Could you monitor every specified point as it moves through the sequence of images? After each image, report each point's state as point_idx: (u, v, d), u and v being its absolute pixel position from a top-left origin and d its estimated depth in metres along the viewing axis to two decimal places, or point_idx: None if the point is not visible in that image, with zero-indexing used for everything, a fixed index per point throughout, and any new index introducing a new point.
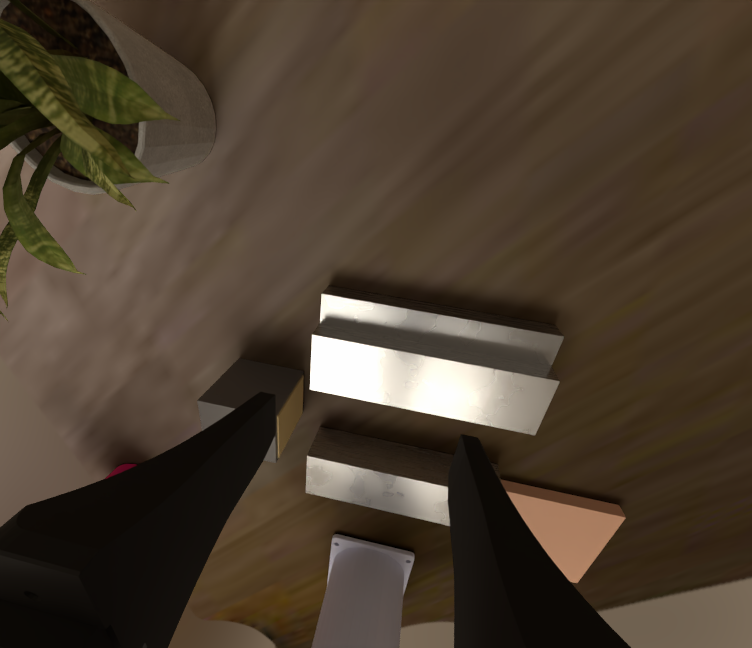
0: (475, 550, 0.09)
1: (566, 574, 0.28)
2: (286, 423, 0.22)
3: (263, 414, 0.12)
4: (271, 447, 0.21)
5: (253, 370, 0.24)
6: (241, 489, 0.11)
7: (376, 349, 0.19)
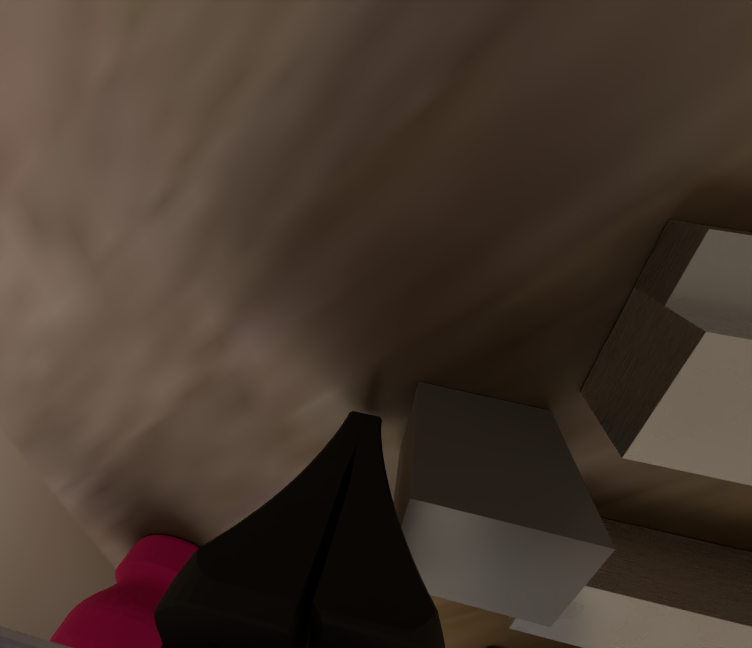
0: None
1: None
2: None
3: None
4: (559, 601, 0.09)
5: (462, 410, 0.12)
6: None
7: None
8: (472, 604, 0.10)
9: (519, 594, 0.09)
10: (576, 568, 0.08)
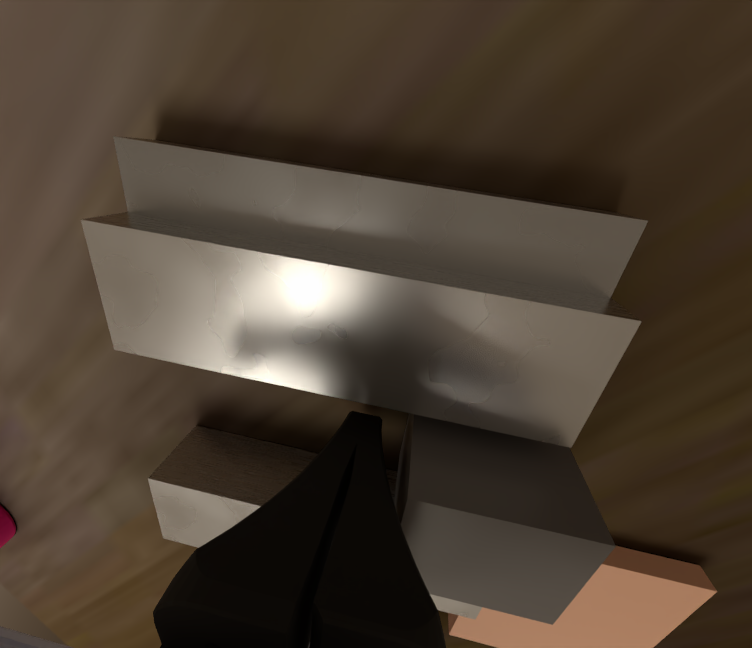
0: None
1: None
2: None
3: None
4: (560, 599, 0.09)
5: None
6: None
7: (218, 253, 0.08)
8: (473, 604, 0.10)
9: (520, 592, 0.09)
10: (577, 566, 0.08)
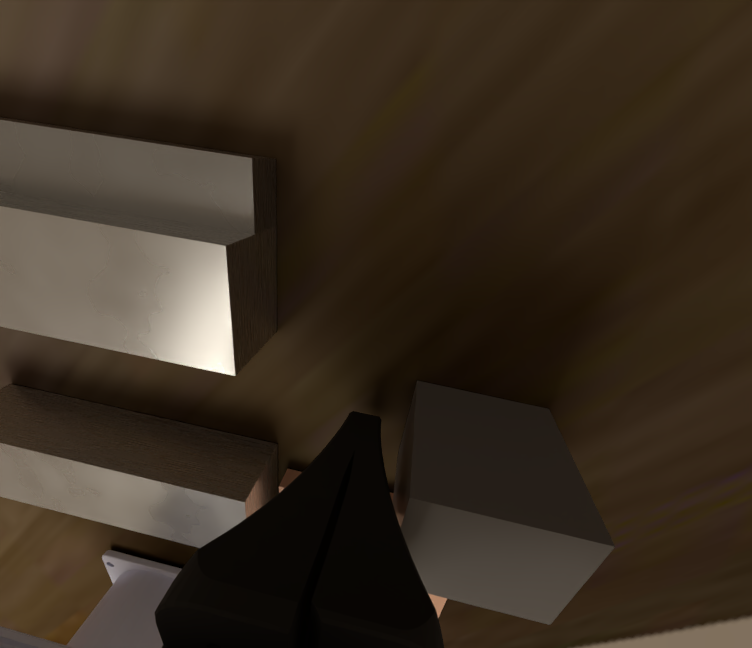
0: None
1: None
2: None
3: None
4: (558, 599, 0.09)
5: (461, 408, 0.12)
6: None
7: None
8: (472, 603, 0.10)
9: (519, 592, 0.09)
10: (576, 566, 0.08)
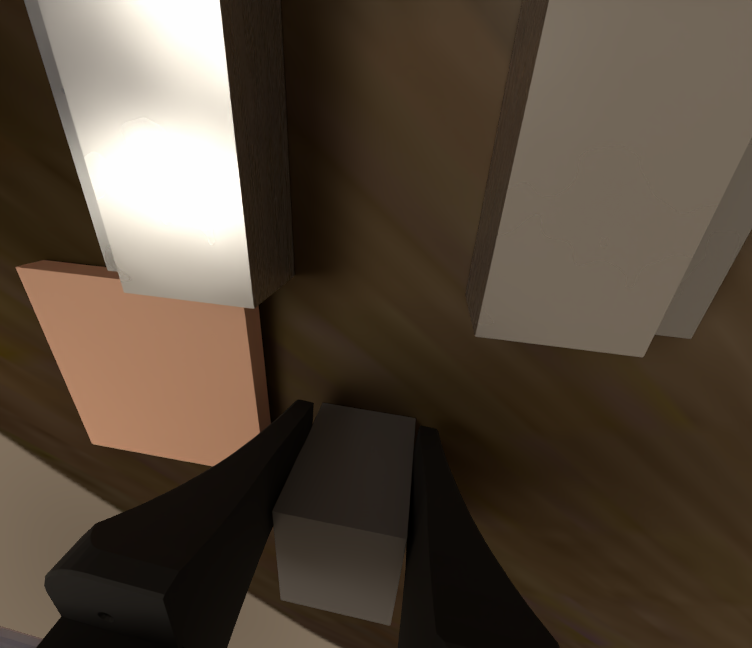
0: (418, 536, 0.09)
1: (100, 428, 0.16)
2: None
3: (304, 423, 0.12)
4: (316, 604, 0.12)
5: None
6: None
7: None
8: (279, 563, 0.11)
9: (312, 587, 0.11)
10: (360, 611, 0.12)
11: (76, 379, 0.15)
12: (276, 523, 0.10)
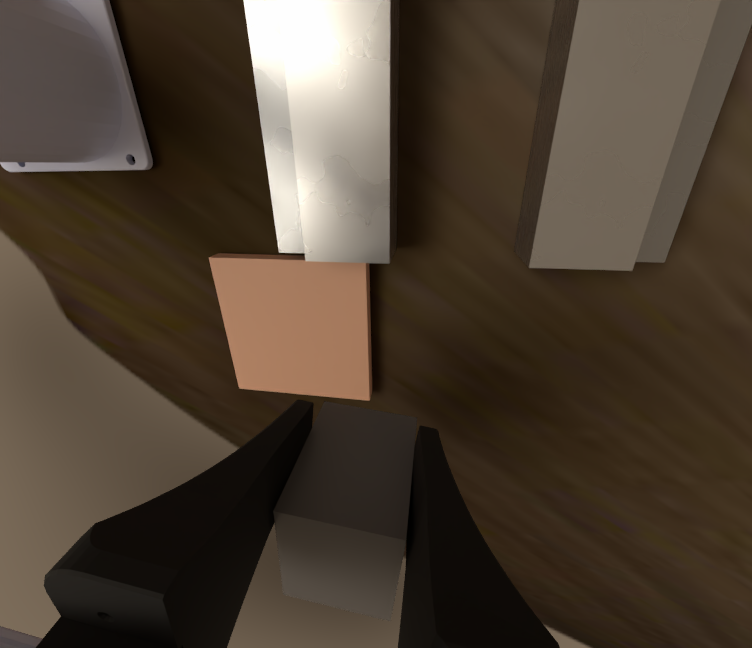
0: (418, 536, 0.09)
1: (247, 374, 0.22)
2: None
3: (303, 423, 0.12)
4: (318, 599, 0.12)
5: None
6: None
7: None
8: (280, 560, 0.11)
9: (314, 583, 0.12)
10: (360, 607, 0.12)
11: (236, 337, 0.21)
12: (277, 522, 0.10)
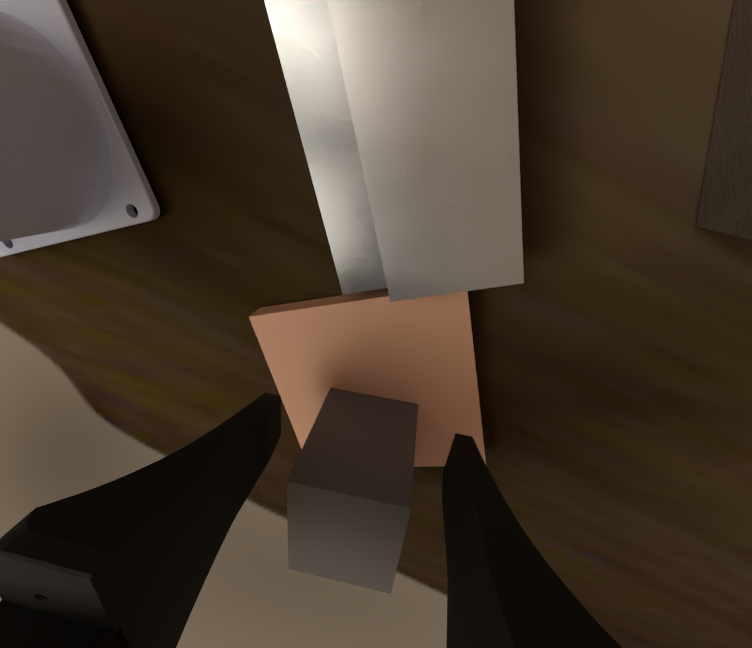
0: (467, 548, 0.09)
1: None
2: None
3: (269, 415, 0.12)
4: (322, 572, 0.13)
5: None
6: (247, 490, 0.11)
7: None
8: (289, 532, 0.12)
9: (319, 556, 0.12)
10: (363, 579, 0.12)
11: (298, 409, 0.16)
12: (290, 493, 0.11)
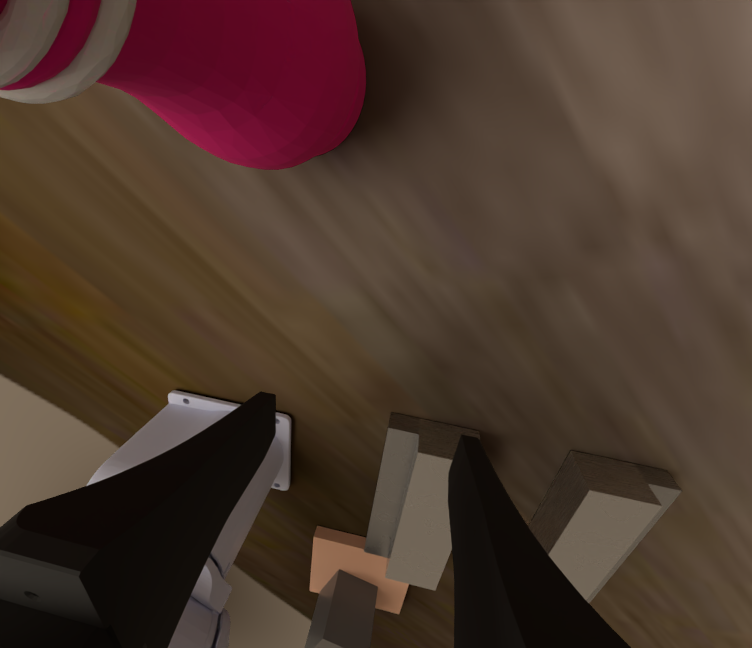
0: (475, 550, 0.09)
1: (318, 586, 0.32)
2: None
3: (263, 414, 0.12)
4: None
5: None
6: (241, 489, 0.11)
7: (626, 544, 0.21)
8: None
9: None
10: None
11: (318, 570, 0.31)
12: (321, 641, 0.26)
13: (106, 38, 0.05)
